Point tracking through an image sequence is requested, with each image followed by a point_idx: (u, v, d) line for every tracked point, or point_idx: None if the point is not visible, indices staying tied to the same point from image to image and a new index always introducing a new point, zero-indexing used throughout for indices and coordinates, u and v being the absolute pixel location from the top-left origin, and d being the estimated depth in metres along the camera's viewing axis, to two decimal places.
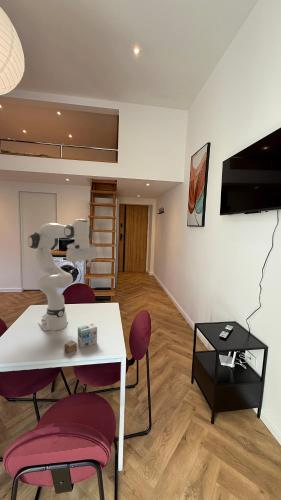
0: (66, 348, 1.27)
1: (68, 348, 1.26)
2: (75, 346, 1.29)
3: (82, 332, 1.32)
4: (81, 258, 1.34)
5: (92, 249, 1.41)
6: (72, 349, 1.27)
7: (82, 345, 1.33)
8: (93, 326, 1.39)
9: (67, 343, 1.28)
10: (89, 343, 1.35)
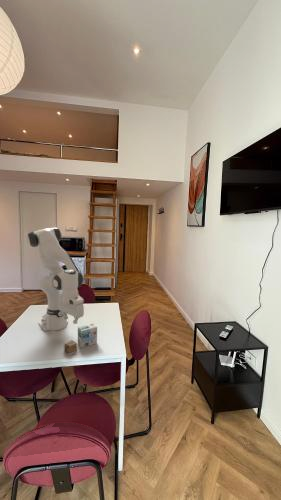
0: (66, 348, 1.27)
1: (68, 348, 1.26)
2: (75, 346, 1.29)
3: (82, 332, 1.32)
4: None
5: None
6: (72, 349, 1.27)
7: (82, 345, 1.33)
8: (93, 326, 1.39)
9: (67, 343, 1.28)
10: (89, 343, 1.35)
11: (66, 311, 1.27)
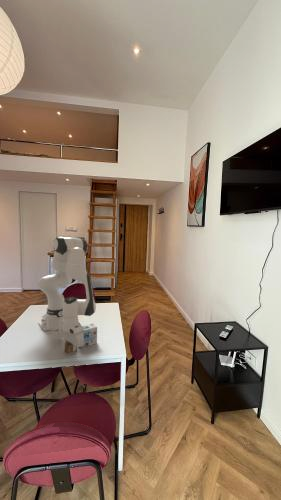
0: (66, 348, 1.27)
1: (68, 348, 1.26)
2: None
3: None
4: None
5: None
6: None
7: (82, 345, 1.33)
8: (93, 326, 1.39)
9: (67, 343, 1.28)
10: (89, 343, 1.35)
11: (66, 339, 1.28)
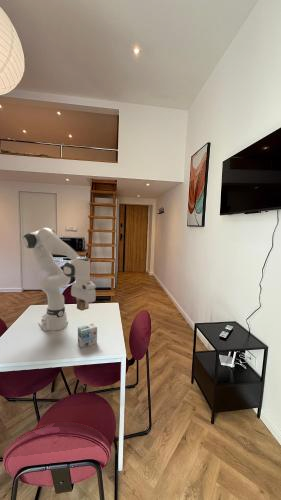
0: (78, 305, 1.32)
1: (81, 305, 1.30)
2: None
3: (82, 332, 1.32)
4: None
5: None
6: None
7: (82, 345, 1.33)
8: (93, 326, 1.39)
9: (79, 300, 1.33)
10: (89, 343, 1.35)
11: (78, 296, 1.33)
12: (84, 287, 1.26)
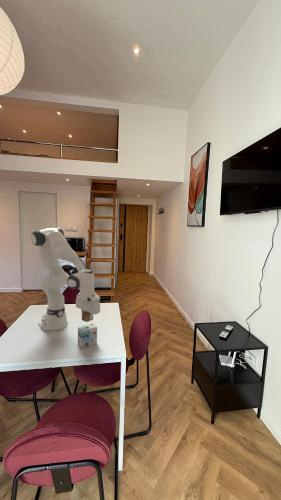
0: (83, 316, 1.35)
1: (86, 316, 1.34)
2: None
3: (82, 332, 1.32)
4: None
5: None
6: None
7: (82, 345, 1.33)
8: (93, 326, 1.39)
9: (84, 312, 1.36)
10: (89, 343, 1.35)
11: (83, 308, 1.36)
12: (89, 299, 1.29)
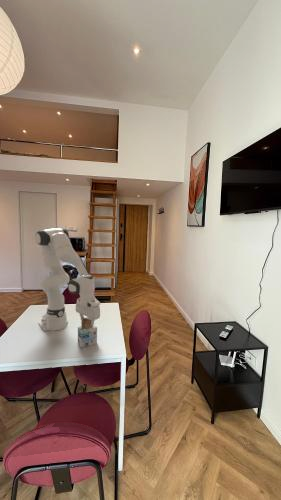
0: (83, 323, 1.36)
1: (85, 324, 1.34)
2: None
3: (82, 332, 1.32)
4: None
5: None
6: (89, 324, 1.35)
7: (82, 345, 1.33)
8: (93, 326, 1.38)
9: (84, 319, 1.37)
10: (88, 343, 1.35)
11: (83, 313, 1.36)
12: (89, 305, 1.30)
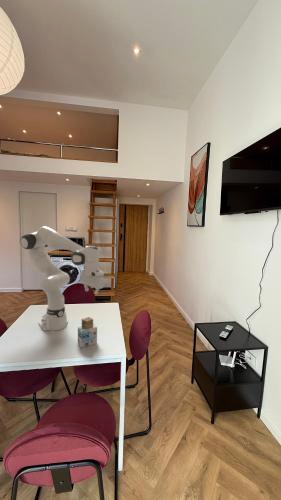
0: (83, 323, 1.36)
1: (85, 324, 1.34)
2: (91, 322, 1.37)
3: (82, 332, 1.32)
4: None
5: None
6: (89, 325, 1.35)
7: (82, 345, 1.33)
8: (93, 326, 1.38)
9: (84, 319, 1.37)
10: (89, 343, 1.35)
11: (87, 283, 1.40)
12: (93, 274, 1.33)
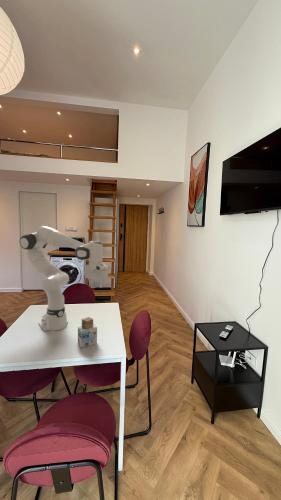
0: (83, 323, 1.36)
1: (85, 324, 1.34)
2: (92, 322, 1.37)
3: (82, 332, 1.32)
4: None
5: None
6: (89, 324, 1.35)
7: (82, 345, 1.33)
8: (93, 326, 1.38)
9: (84, 319, 1.37)
10: (89, 343, 1.35)
11: (92, 277, 1.45)
12: (98, 268, 1.38)
